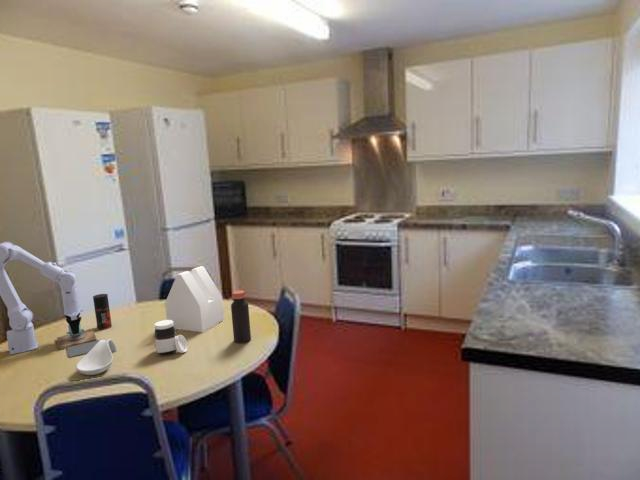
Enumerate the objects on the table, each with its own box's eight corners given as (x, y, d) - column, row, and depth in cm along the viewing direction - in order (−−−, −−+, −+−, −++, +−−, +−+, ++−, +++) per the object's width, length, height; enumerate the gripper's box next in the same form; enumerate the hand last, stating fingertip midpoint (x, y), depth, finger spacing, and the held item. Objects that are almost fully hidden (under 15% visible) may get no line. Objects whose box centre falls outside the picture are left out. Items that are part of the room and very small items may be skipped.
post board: (58, 350, 180) (57, 343, 180) (57, 339, 192) (55, 333, 191) (96, 341, 187) (95, 334, 187) (93, 331, 199) (92, 325, 199)
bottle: (247, 343, 176) (243, 294, 173) (231, 343, 178) (226, 294, 174) (253, 337, 183) (249, 289, 179) (237, 336, 184) (233, 289, 181)
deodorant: (108, 324, 208) (103, 293, 206) (114, 326, 205) (109, 294, 202) (95, 328, 204) (90, 296, 201) (101, 330, 200) (96, 298, 198)
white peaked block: (224, 320, 205) (219, 267, 201) (202, 332, 192) (197, 275, 187) (190, 316, 213) (185, 265, 209) (167, 328, 199) (161, 273, 195)
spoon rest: (109, 377, 154) (106, 357, 153) (72, 381, 152) (69, 362, 151) (125, 350, 177) (123, 332, 176) (94, 353, 175) (91, 336, 174)
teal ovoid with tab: (67, 337, 186) (66, 328, 185) (67, 334, 190) (65, 325, 189) (84, 333, 189) (83, 324, 188) (83, 330, 193) (82, 321, 192)
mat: (68, 358, 172) (68, 357, 172) (66, 348, 182) (66, 347, 182) (103, 349, 178) (103, 348, 178) (99, 340, 188) (99, 339, 188)
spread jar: (155, 349, 176) (152, 320, 174) (185, 343, 180) (182, 315, 178) (157, 360, 165) (154, 330, 163) (189, 354, 169) (186, 324, 167)
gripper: (83, 302, 183) (87, 334, 185) (80, 295, 195) (84, 325, 197) (63, 306, 179) (68, 338, 181) (61, 298, 191) (66, 328, 194)
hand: (75, 332), depth 189 cm, fingers closed on teal ovoid with tab, 5 cm apart
